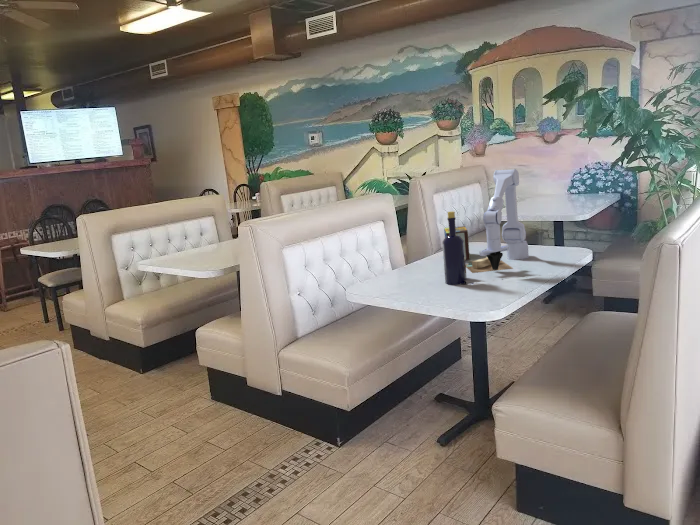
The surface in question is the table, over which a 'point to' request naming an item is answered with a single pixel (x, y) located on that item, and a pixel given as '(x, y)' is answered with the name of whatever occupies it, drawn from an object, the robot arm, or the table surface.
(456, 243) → the bottle
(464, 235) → the protein box
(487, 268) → the stool board
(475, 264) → the leg
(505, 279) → the table surface
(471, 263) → the bar
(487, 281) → the table surface
